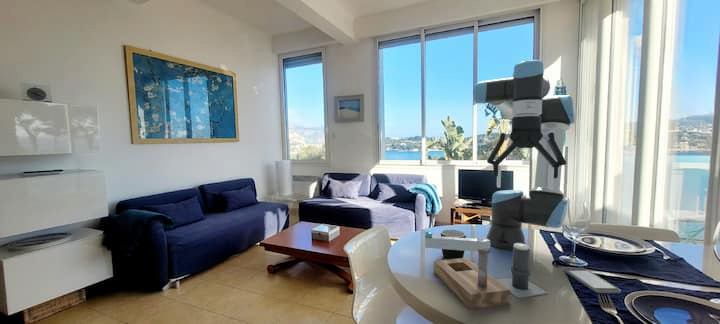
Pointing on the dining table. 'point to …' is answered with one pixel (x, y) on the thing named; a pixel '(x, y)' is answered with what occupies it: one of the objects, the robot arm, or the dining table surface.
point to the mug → (452, 253)
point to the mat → (518, 293)
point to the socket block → (472, 282)
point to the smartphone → (592, 280)
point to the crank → (457, 243)
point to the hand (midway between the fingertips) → (523, 188)
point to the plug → (520, 266)
